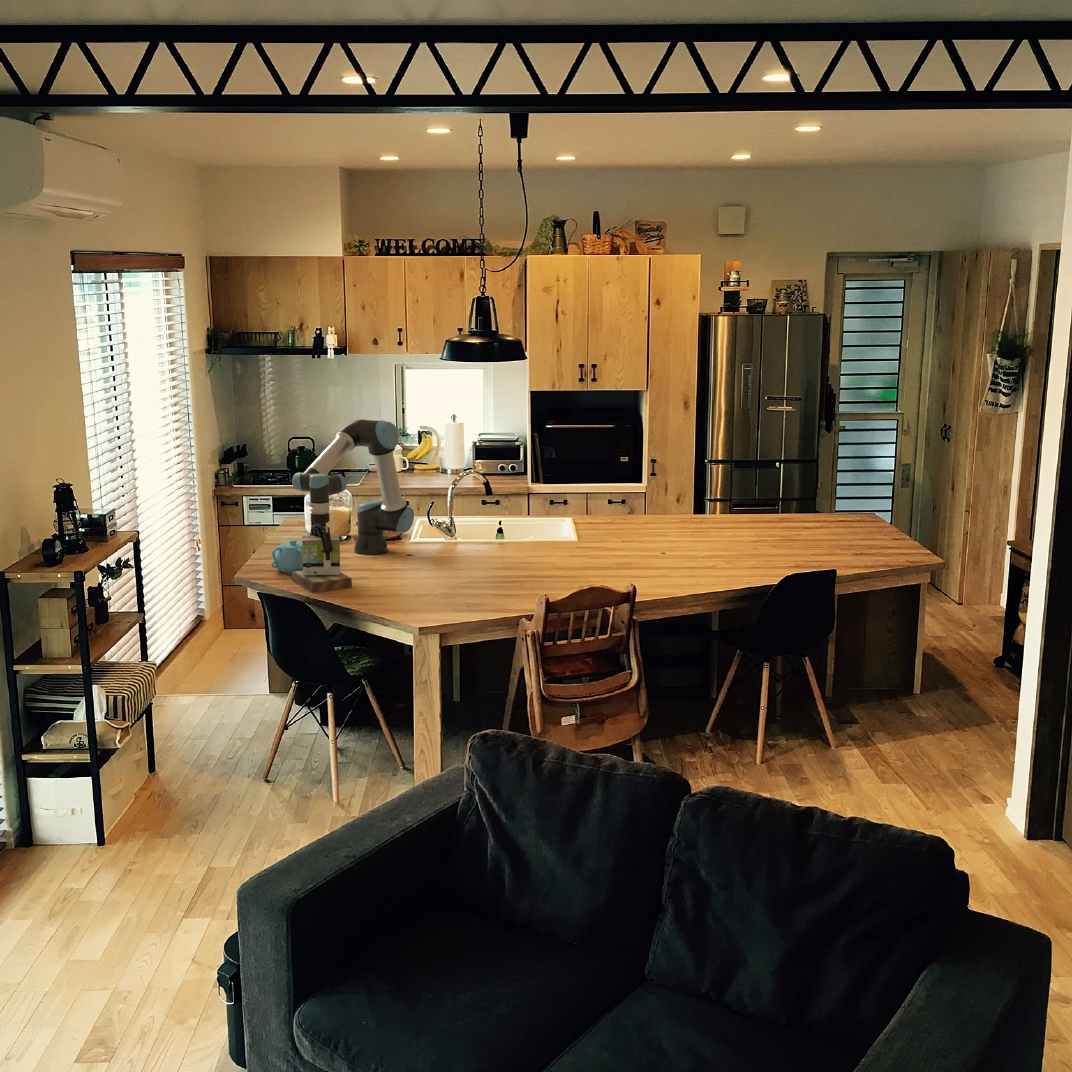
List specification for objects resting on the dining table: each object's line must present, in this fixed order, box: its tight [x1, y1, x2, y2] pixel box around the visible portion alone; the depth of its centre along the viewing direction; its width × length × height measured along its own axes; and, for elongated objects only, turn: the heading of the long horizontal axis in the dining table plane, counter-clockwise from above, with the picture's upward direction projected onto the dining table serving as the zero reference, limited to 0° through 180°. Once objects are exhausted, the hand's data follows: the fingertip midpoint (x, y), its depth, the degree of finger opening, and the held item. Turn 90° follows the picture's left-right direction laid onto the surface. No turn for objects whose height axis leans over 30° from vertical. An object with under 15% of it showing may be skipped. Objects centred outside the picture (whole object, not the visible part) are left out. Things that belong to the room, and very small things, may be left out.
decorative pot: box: [270, 539, 303, 575], centre depth 485 cm, size 16×16×14 cm
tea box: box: [301, 534, 341, 575], centre depth 463 cm, size 15×10×15 cm
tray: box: [291, 570, 353, 594], centre depth 465 cm, size 17×22×4 cm
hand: (321, 564), depth 464 cm, fingers closed on tea box, 12 cm apart
